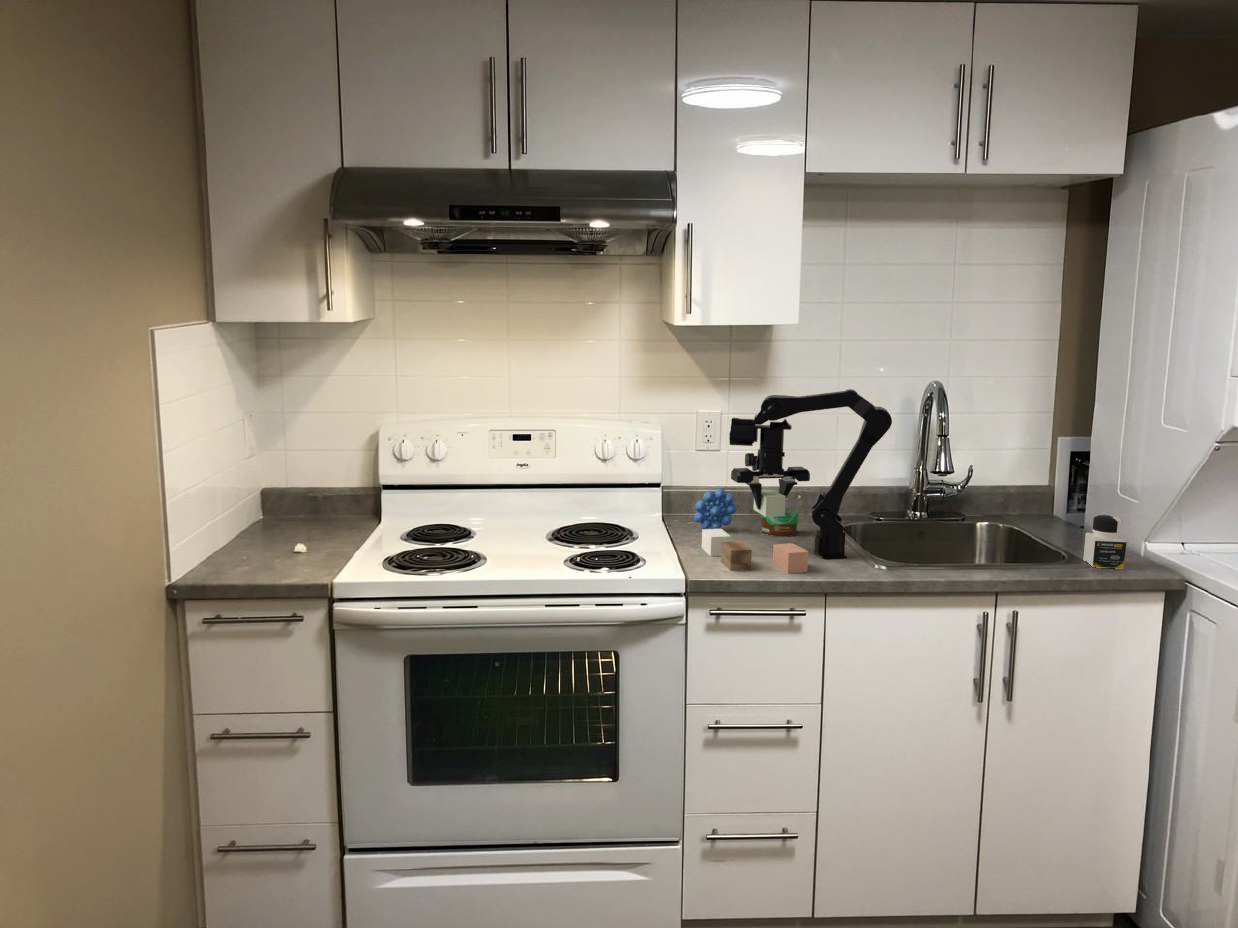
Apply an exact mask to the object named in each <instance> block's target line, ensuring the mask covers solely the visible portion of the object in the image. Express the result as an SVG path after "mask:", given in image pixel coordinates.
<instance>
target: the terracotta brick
mask: <svg viewBox="0 0 1238 928" xmlns="http://www.w3.org/2000/svg"><path fill="white" fill-rule="evenodd" d="M772 547H773V550H772V552H773V553H772V554H773V555H772V566H775V567H776V568H779V570H781V571H783V572H785V573H786V574H797V573H807V572H808V565H809V563H808V562H809V561H808V560H809V551H808V550H807V549H804V548H803V547H800V546H798V545H797V544H794V543H793V542H792V543H790V542H789V543H778V544H776V543H775V544H773V546H772Z"/></svg>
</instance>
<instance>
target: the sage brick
mask: <svg viewBox="0 0 1238 928" xmlns="http://www.w3.org/2000/svg"><path fill="white" fill-rule="evenodd" d="M785 498H787V497H786V496H784V495H782V494H781V493H779V491H777V490H775V489H761V507H760V509H757V506H756V503H755V499H754V498H753V511H755V512H757V513H758V514H760V515H761V514H762V515H763V516H765V517H774V516H785Z"/></svg>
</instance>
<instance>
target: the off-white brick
mask: <svg viewBox="0 0 1238 928" xmlns="http://www.w3.org/2000/svg"><path fill="white" fill-rule="evenodd" d="M731 538H732V536H731V535H730V534H729V533H728V532H726V531H725V530H724V529H722V528H721V529H711V528H709V529H702V530H701V549H702V550H703V551H704V552H705V553H707V555H708V556H710V557H721V546H722V542H732V539H731Z"/></svg>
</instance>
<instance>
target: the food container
mask: <svg viewBox="0 0 1238 928" xmlns="http://www.w3.org/2000/svg"><path fill="white" fill-rule="evenodd" d="M801 506H802V507H803V500H802V497H801V495H797V497H795V498H788V497H786V500H785V516H774V517H765V516H763V515H762V514H760V517H761V518H760V519H761V531H762V532H761V533H762V534H763V533H764V535H766V534H768V535H767V536H771V535H773V537H791V536H790V535H792V536H794V534H795V535H796V534H797V528H798V520H799V514H800V509H801V508H800V507H801Z"/></svg>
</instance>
